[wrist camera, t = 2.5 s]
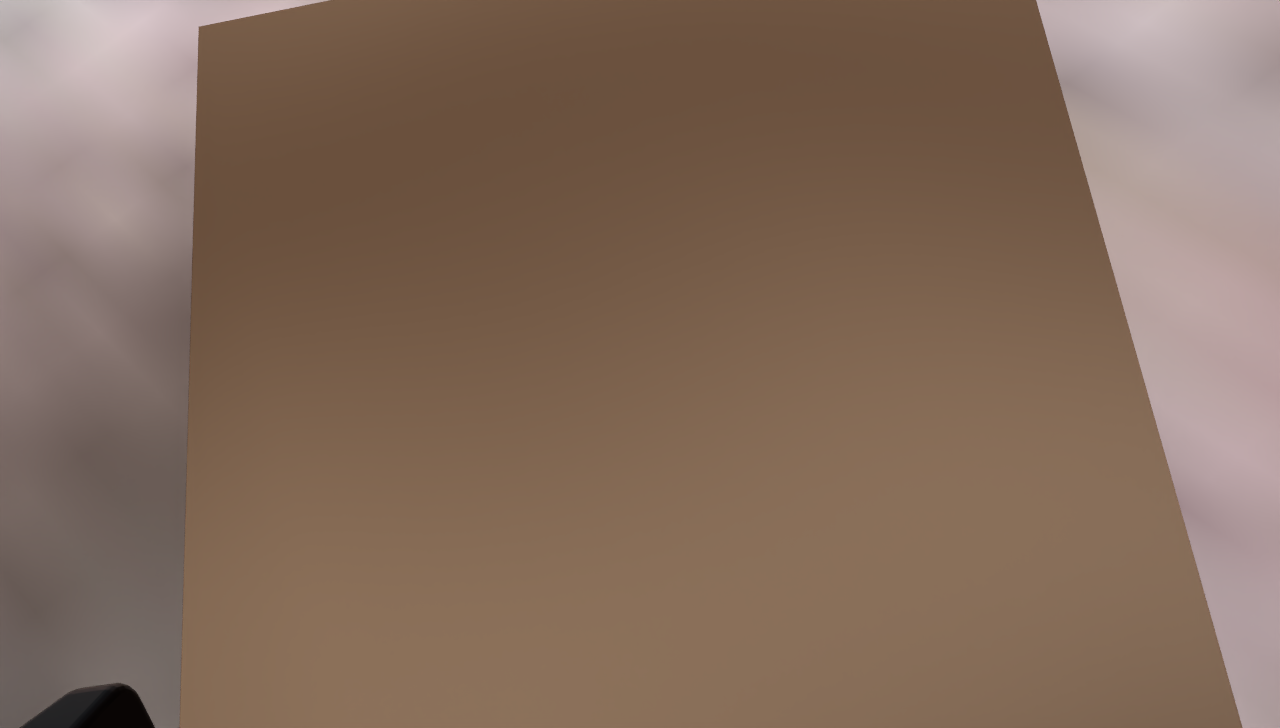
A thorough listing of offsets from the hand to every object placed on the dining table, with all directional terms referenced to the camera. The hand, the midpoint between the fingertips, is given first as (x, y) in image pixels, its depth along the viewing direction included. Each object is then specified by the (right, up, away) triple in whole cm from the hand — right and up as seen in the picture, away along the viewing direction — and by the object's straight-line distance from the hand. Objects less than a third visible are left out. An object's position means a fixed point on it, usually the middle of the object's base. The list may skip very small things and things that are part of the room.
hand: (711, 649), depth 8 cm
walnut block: (+1, -1, +9) cm, 9 cm away
